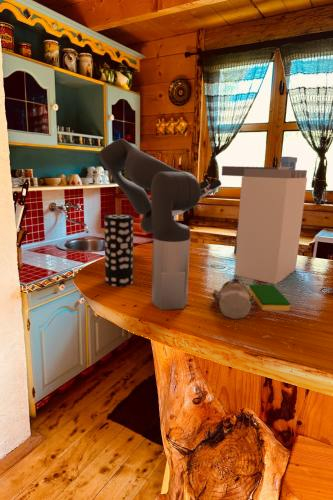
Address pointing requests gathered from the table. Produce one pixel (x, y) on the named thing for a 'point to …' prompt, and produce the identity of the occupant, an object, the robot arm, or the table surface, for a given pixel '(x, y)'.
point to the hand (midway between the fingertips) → (214, 182)
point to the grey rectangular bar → (240, 170)
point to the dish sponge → (269, 298)
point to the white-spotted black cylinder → (118, 250)
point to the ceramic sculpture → (234, 299)
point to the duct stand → (270, 222)
